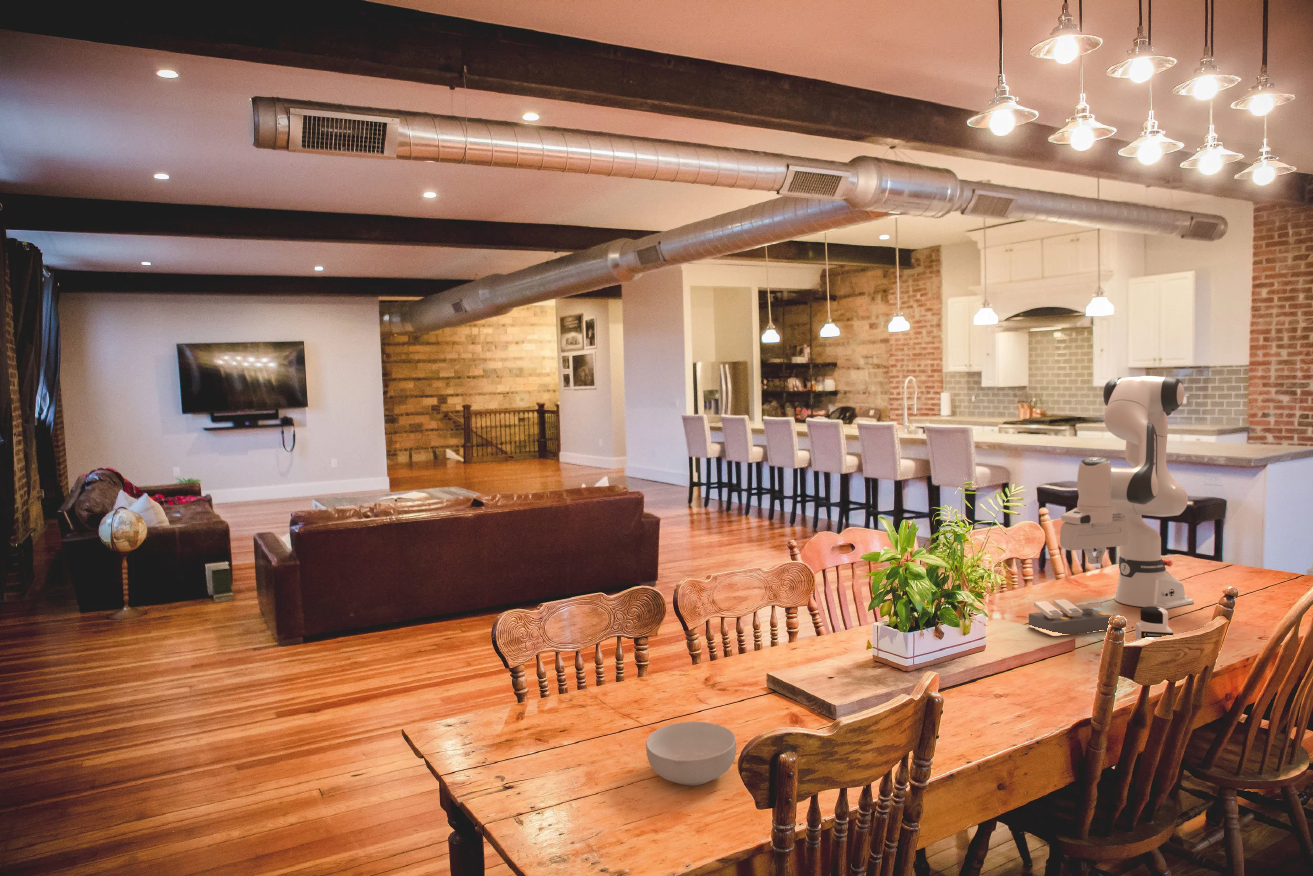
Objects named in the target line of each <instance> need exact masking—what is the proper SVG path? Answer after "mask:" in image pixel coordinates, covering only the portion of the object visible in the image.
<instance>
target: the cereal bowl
mask: <svg viewBox="0 0 1313 876" xmlns="http://www.w3.org/2000/svg"><path fill="white" fill-rule="evenodd" d="M645 747H646V748H645V749H646V756H647V760H648V764H649V766H650V767H651V768H652V770H653V771H654V773H656V774H657V775H658V776H660V777H661V778H663V779H665V780H667V781H669V782H673V783H677V784H679V785H682V786H683V785H684V786H688V787H689V786H691V787H693V786H702V785H705V784H707V783H709V782H710V781H713V780H717V779H718V778H719V777H722V775H724V774H725V773H727V771H729V770H730V768H731V767H732V765H733V763H734V762H735V760H736V759H735V758H736V756H737V755H736V754H737V739H736V736H735V734H734V732H733V731H732V730H730V729H729V728H727V727H726V726H722V725H720V724H716V723H712V722H707V721H682V722H675V723H670V724H668V725H664V726H661V727H660V728H658V729H656V730H654V731H652V732H651V733H650V734H649V735H648V737H647V738H646V741H645Z"/></svg>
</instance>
